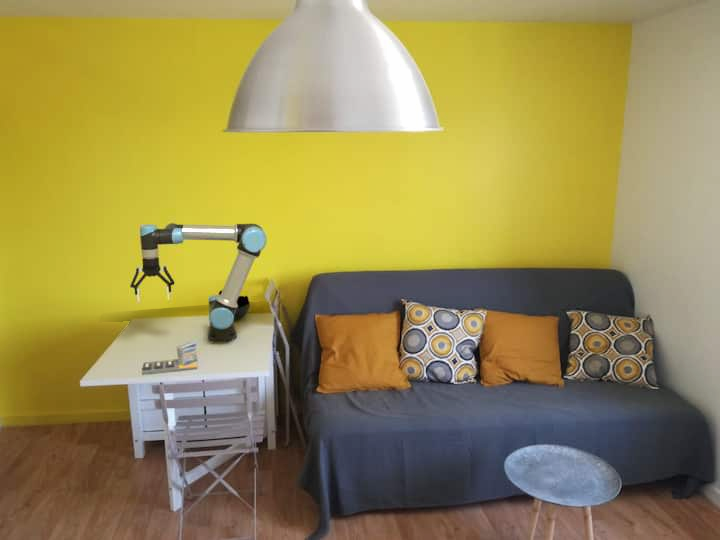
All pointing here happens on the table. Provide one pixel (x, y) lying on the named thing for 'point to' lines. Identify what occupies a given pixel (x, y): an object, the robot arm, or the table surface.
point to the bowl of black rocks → (241, 307)
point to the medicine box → (187, 353)
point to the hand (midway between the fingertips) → (153, 299)
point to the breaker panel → (166, 366)
